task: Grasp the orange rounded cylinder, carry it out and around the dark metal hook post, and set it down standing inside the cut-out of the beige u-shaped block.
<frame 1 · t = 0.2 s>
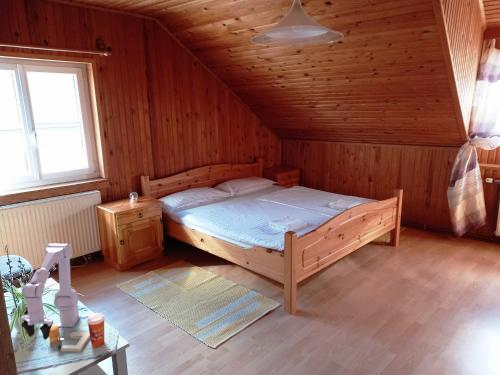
hand: (39, 336, 160), 10 cm above the table, fingers open, 7 cm apart
beige u-shaped block: (76, 342, 172), on the table
paper cup: (98, 343, 172), on the table
hook post: (59, 348, 168), on the table
orange rounded cylinder: (55, 340, 173), on the table
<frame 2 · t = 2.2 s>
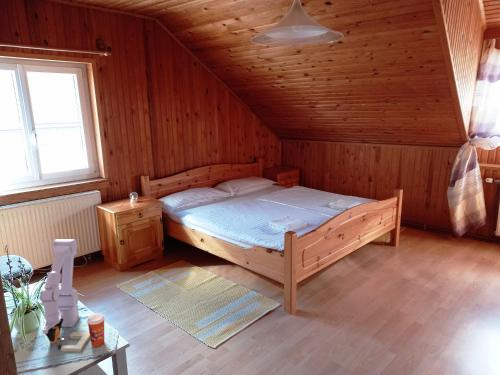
hand: (54, 337, 173), 2 cm above the table, fingers closed on orange rounded cylinder, 4 cm apart
orange rounded cylinder: (55, 340, 173), on the table, touching gripper
everything else where it was.
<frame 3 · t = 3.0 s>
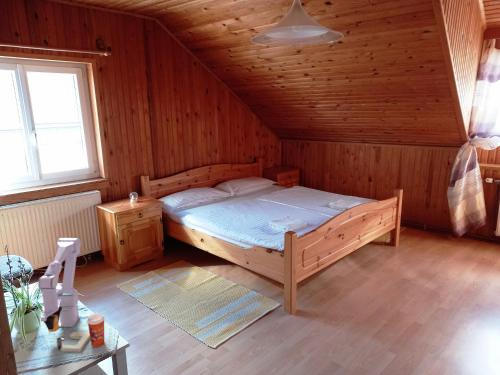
hand: (53, 325, 171), 8 cm above the table, fingers closed on orange rounded cylinder, 4 cm apart
orange rounded cylinder: (53, 329, 172), point 6 cm above the table, touching gripper
everything else where it was.
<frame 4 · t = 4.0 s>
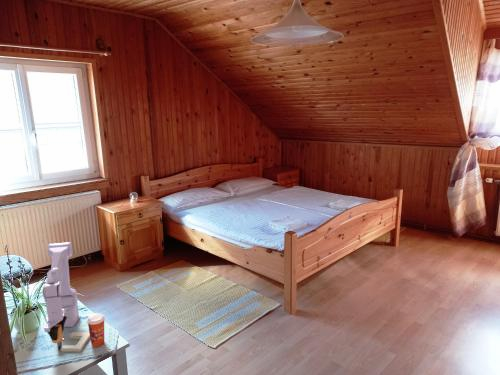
hand: (57, 336, 162), 9 cm above the table, fingers closed on orange rounded cylinder, 4 cm apart
orange rounded cylinder: (57, 339, 163), point 7 cm above the table, touching gripper
everything else where it was.
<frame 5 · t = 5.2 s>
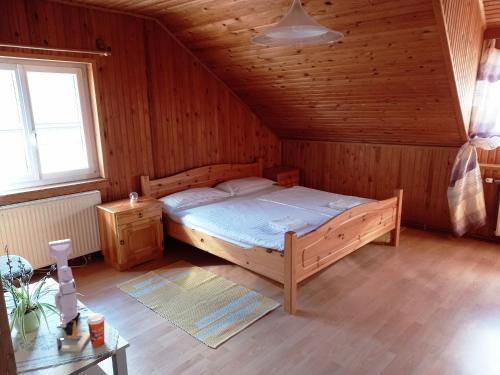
hand: (71, 331, 170), 6 cm above the table, fingers closed on orange rounded cylinder, 4 cm apart
orange rounded cylinder: (72, 335, 170), point 5 cm above the table, touching gripper
everything else where it was.
when the fingers open (3 cm above the table, at t = 6.2 s): orange rounded cylinder drops 1 cm, on the table.
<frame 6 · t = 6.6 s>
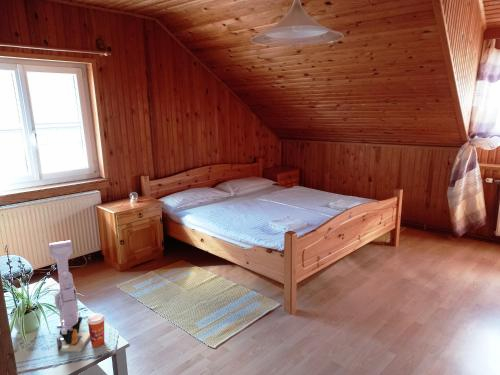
hand: (72, 338, 171), 3 cm above the table, fingers open, 7 cm apart
orange rounded cylinder: (73, 343, 171), on the table
everything else where it was.
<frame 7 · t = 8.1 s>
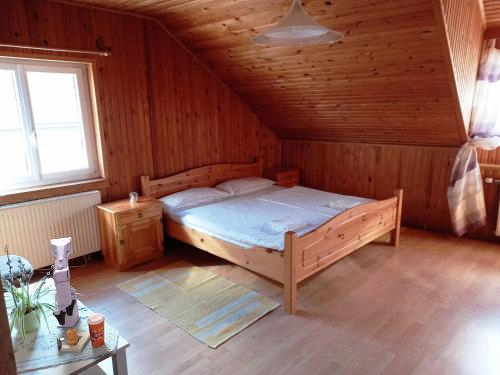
hand: (66, 320, 172), 10 cm above the table, fingers open, 7 cm apart
nothing on the table moved.
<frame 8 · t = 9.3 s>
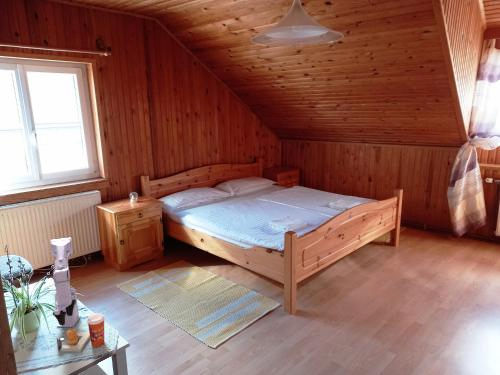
hand: (66, 320, 172), 10 cm above the table, fingers open, 7 cm apart
nothing on the table moved.
at the end: orange rounded cylinder 0.1 cm from the target spot, on the table; orange rounded cylinder tilted 0°; the gripper is holding nothing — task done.
